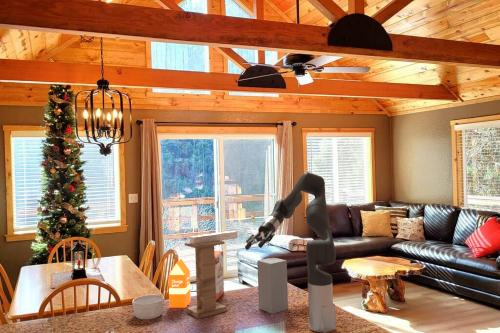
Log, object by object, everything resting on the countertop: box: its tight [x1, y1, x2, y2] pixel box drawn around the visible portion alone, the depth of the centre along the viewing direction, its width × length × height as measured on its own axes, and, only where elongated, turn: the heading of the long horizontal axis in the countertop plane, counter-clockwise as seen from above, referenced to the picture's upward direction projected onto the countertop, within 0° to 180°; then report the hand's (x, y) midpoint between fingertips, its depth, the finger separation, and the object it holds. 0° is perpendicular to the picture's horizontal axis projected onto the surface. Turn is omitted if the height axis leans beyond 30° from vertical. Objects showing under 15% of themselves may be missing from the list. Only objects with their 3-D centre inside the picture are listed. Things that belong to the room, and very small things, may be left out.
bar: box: [189, 230, 238, 245], centre depth 190 cm, size 4×22×3 cm, turn 126°
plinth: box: [256, 257, 289, 314], centre depth 189 cm, size 9×9×21 cm
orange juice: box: [168, 258, 192, 308], centre depth 199 cm, size 8×9×20 cm
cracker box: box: [214, 250, 225, 302], centre depth 209 cm, size 14×6×21 cm, turn 168°
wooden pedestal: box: [184, 240, 228, 320], centre depth 187 cm, size 10×14×30 cm
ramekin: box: [131, 294, 165, 320], centre depth 186 cm, size 13×13×7 cm
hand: (252, 247), depth 202 cm, fingers open, 8 cm apart
